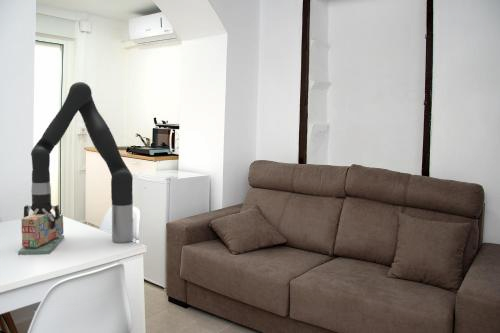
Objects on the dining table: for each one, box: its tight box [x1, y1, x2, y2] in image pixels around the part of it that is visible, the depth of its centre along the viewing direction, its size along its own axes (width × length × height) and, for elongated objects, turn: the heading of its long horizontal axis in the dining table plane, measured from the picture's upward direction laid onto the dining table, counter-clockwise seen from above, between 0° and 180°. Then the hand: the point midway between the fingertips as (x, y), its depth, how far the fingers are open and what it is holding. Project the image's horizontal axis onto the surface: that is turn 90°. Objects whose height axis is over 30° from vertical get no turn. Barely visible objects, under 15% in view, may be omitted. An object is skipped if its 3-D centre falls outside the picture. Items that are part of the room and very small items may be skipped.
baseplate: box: [17, 234, 65, 256], centre depth 195 cm, size 12×24×2 cm, turn 9°
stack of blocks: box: [20, 213, 64, 248], centre depth 195 cm, size 21×6×12 cm, turn 173°
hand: (42, 229), depth 194 cm, fingers open, 8 cm apart
